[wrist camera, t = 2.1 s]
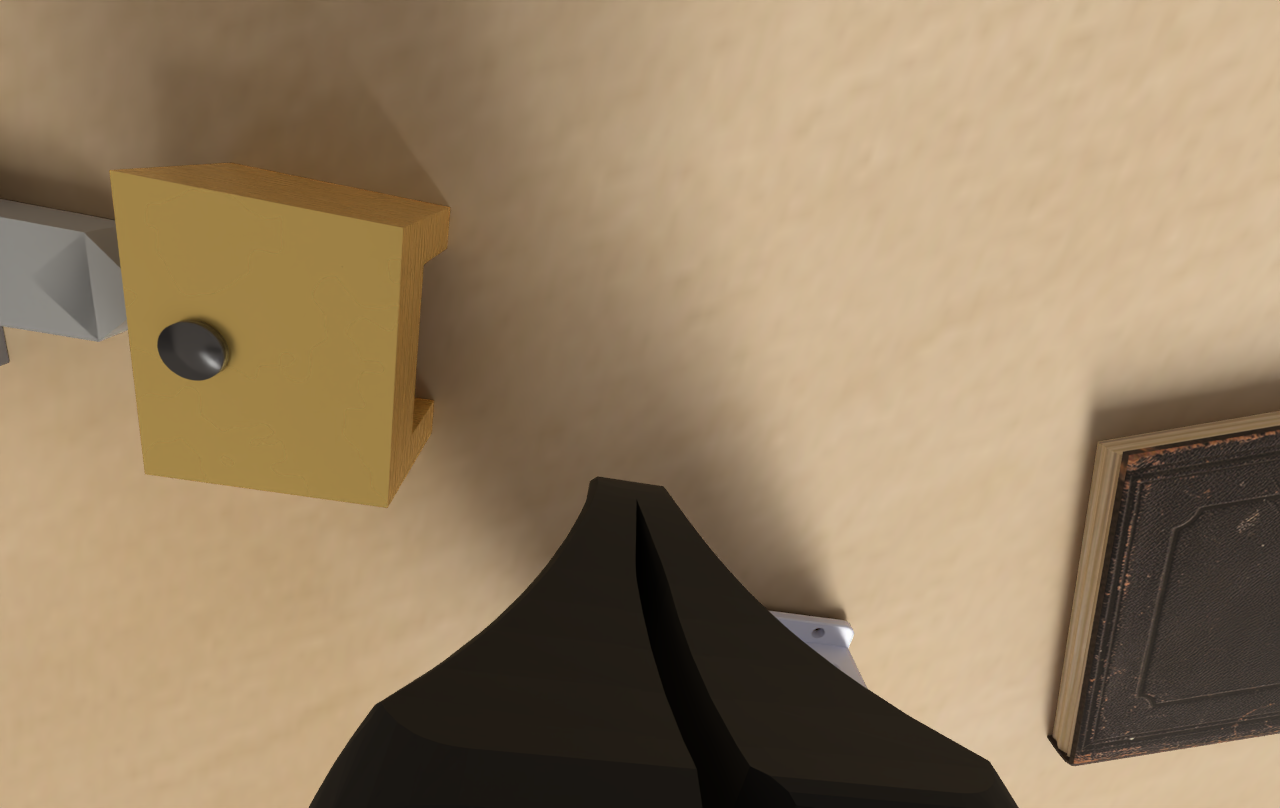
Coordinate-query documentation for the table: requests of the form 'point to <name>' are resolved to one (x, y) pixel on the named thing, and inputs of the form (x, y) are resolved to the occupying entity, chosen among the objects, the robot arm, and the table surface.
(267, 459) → the wooden knob block
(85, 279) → the gray block
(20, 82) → the table surface
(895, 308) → the table surface
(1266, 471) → the hardcover book
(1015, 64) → the table surface
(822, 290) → the table surface
